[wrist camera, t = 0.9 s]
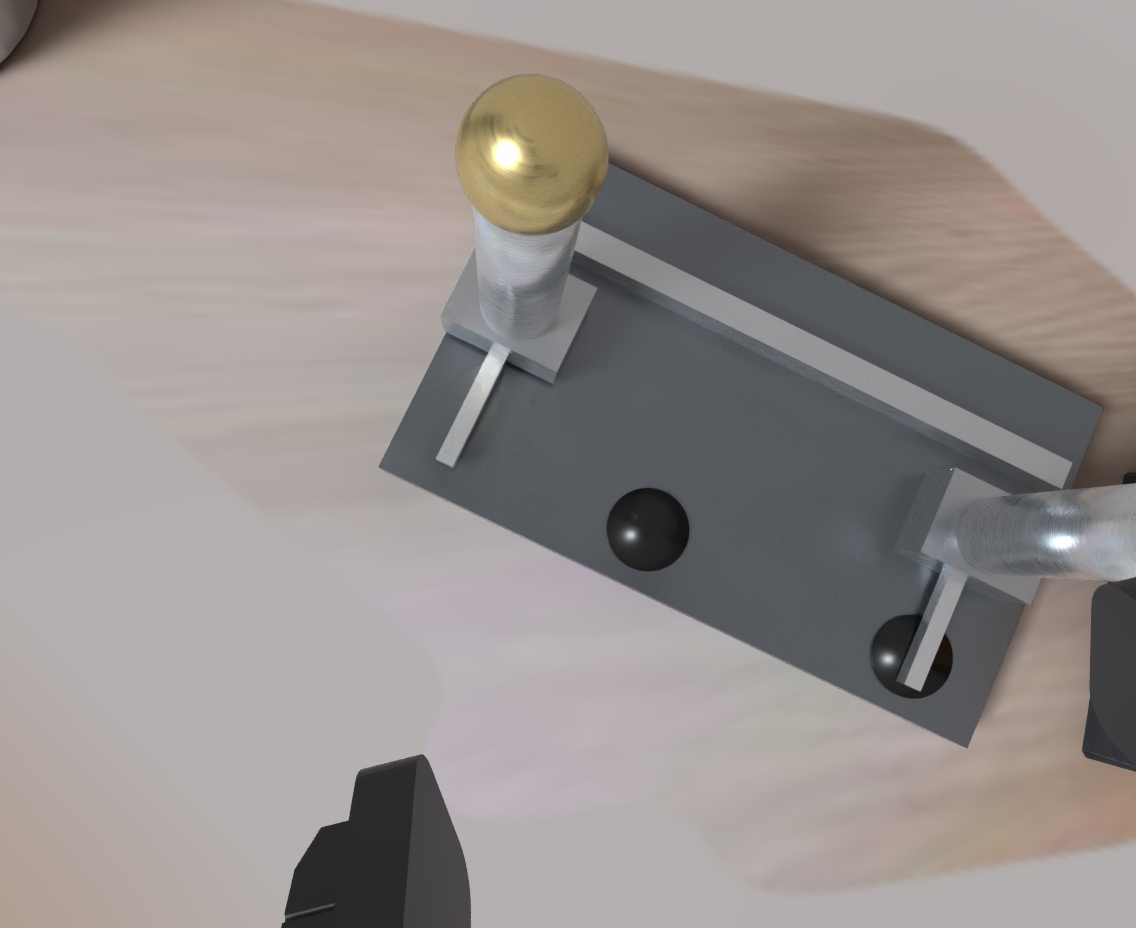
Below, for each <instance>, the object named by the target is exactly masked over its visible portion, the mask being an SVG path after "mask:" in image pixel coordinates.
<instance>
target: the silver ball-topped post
mask: <svg viewBox="0 0 1136 928" xmlns="http://www.w3.org/2000/svg"><path fill="white" fill-rule="evenodd" d="M893 551H894V552H896V553H898V554H900V555H902V556H904V557H906V558H908V559H911V560H913V561H915V562H917V563H919V564H921V565H923V566H925V567H927V568H929V569H931V570H933V571H935V572H937V573H939V574H940V576H939V579H938V581H937V583H936V586H935V588H934V591H933V593H932V595H931V598H930V600H929V603H928V605H927V608H926V610H925V612H924V615H923V617H922V620H921V622H920V624H919V627H918V629H917V632H916V634H915V636H914V639H913V641H912V644H911V646H910V649H909V651H908V653H907V656H906V658H905V661H904V663H903V665H902V668H901V670H900V673H899V675H898V678H897V680H896V681H897V682H899V683H901V684H903V685H906V686H908V687H910V688H912V689H915V690H917V691H920V692H921V689H922V687H923V684H924V682H925V680H926V677H927V675H928V672H929V670H930V667H931V665H932V662H933V660H934V658H935V655H936V653H937V650H938V648H939V645H940V643H941V640H942V638H943V636H944V633H945V631H946V628H947V626H948V623H949V621H950V619H951V616H952V614H953V611H954V609H955V606H956V604H957V601H958V599H959V597H960V594H961V592H962V589H963V587H964V586H966V587H968V588H970V589H972V590H975V591H977V592H979V593H981V594H983V595H985V596H987V597H989V598H991V599H993V600H995V601H1002V602H1011V603H1020V604H1029V605H1031V603H1032V601H1033V598H1034V596H1035V593H1036V591H1037V588H1038V586H1039V583H1040V581H1041V578H1055V579H1071V580H1087V581H1104V582H1117V581H1121V580H1125V579H1129V578H1133V577H1136V483H1133V484H1123V485H1113V486H1102V487H1092V488H1081V489H1071V490H1061V491H1050V492H1040V493H1029V494H1019V495H1011V494H1009V493H1007V492H1005V491H1003V490H1001V489H999V488H997V487H995V486H993V485H991V484H988V483H986V482H984V481H982V480H980V479H978V478H976V477H974V476H972V475H970V474H968V473H966V472H964V471H962V470H960V469H958V468H950V469H944V470H938V471H932V472H927V473H925V476H924V478H923V481H922V483H921V485H920V488H919V490H918V492H917V495H916V497H915V499H914V502H913V504H912V507H911V509H910V511H909V514H908V516H907V518H906V521H905V523H904V526H903V528H902V530H901V533H900V535H899V537H898V540H897V542H896V544H895V547H894V549H893Z"/></svg>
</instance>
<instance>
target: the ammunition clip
mask: <svg viewBox="0 0 1136 928" xmlns="http://www.w3.org/2000/svg"><path fill="white" fill-rule="evenodd" d="M1133 483H1136V473H1127V474H1125V475H1124V479H1123V484H1133ZM1109 583H1113V582H1108V584H1109ZM1082 751H1083V753H1084V755H1085V757H1086V758H1090V759H1093V760H1097V761H1100V762H1104V763H1107V764H1111V765H1114V766H1118V767H1121V768H1125V769H1128V770H1132V771H1135V772H1136V766H1135V765H1134V764H1133V763H1132V762H1131V760H1130V759H1129V758H1128V757H1127V756H1126V755H1125V754H1124V753H1123V752H1122V751H1121V750H1120V749H1119V748H1118V747H1117V746H1116V745H1115V744H1114V743H1113V742H1112V741H1111V739H1110V738H1109V737H1108V736H1107V734H1106V733H1105V731H1104V729H1103V728H1102V726H1101V724H1100V722H1099V720H1098V718H1097V716H1096V714H1095V711H1094V708H1093V705H1092V701H1091V697H1090V701H1089V708H1088V714H1087V721H1086V727H1085V734H1084V740H1083V747H1082Z"/></svg>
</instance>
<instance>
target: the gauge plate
mask: <svg viewBox="0 0 1136 928" xmlns="http://www.w3.org/2000/svg"><path fill="white" fill-rule="evenodd" d="M568 274H570V275H572V276H574V277H576V278H578V279H580V280H582V281H584V282H586V283H588V284H590V285H592V286H595V287H597V291H596V293H595V296H594V299H593V301H592V304H591V306H590V308H589V310H588V312H587V315H586V317H585V319H584V321H583V323H582V325H581V327H580V329H579V331H578V333H577V335H576V337H575V339H574V341H573V343H572V345H571V347H570V350H569V352H568V354H567V356H566V358H565V360H564V362H563V364H562V366H561V368H560V370H559V372H558V374H557V376H556V378H555V380H554V383H553V384H552V383H550V382H548V381H546V380H544V379H542V378H540V377H538V376H536V375H534V374H532V373H530V372H528V371H526V370H523V369H521V368H519V367H517V366H515V365H513V364H511V363H509V362H506V364H505V366H504V368H503V370H502V372H501V374H500V376H499V378H498V380H497V382H496V384H495V386H494V388H493V390H492V392H491V394H490V396H489V398H488V400H487V402H486V404H485V406H484V408H483V410H482V412H481V414H480V416H479V418H478V420H477V422H476V424H475V426H474V428H473V430H472V432H471V434H470V436H469V438H468V440H467V442H466V445H465V447H464V449H463V451H462V453H461V455H460V457H459V459H458V461H457V463H456V465H455V467H454V468H452V467H450V466H448V465H445V464H443V463H441V462H439V461H437V460H436V457H437V455H438V453H439V451H440V449H441V447H442V445H443V443H444V441H445V439H446V437H447V435H448V433H449V431H450V429H451V427H452V425H453V423H454V421H455V419H456V417H457V415H458V413H459V411H460V409H461V407H462V405H463V403H464V401H465V399H466V397H467V395H468V393H469V391H470V389H471V387H472V385H473V383H474V381H475V379H476V377H477V375H478V373H479V371H480V369H481V367H482V365H483V363H484V361H485V359H486V357H487V355H488V352H486V351H484V350H482V349H480V348H478V347H476V346H474V345H472V344H470V343H468V342H466V341H464V340H462V339H459V338H457V337H455V336H453V335H451V334H449V333H447V332H446V334H445V336H444V338H443V340H442V342H441V344H440V346H439V348H438V350H437V352H436V354H435V356H434V358H433V360H432V362H431V364H430V366H429V368H428V370H427V372H426V374H425V376H424V378H423V380H422V382H421V384H420V386H419V388H418V390H417V392H416V394H415V396H414V398H413V400H412V401H411V403H410V405H409V407H408V409H407V411H406V413H405V415H404V417H403V419H402V421H401V423H400V425H399V427H398V429H397V431H396V433H395V435H394V437H393V439H392V441H391V443H390V445H389V447H388V449H387V451H386V453H385V455H384V457H383V459H382V461H381V463H380V465H379V468H381V469H382V470H384V471H385V472H387V473H389V474H391V475H394V476H396V477H398V478H400V479H402V480H404V481H406V482H408V483H410V484H412V485H414V486H417V487H419V488H421V489H423V490H425V491H427V492H429V493H431V494H433V495H435V496H438V497H440V498H442V499H444V500H446V501H448V502H450V503H452V504H454V505H456V506H458V507H461V508H463V509H465V510H467V511H469V512H471V513H473V514H475V515H477V516H479V517H481V518H484V519H486V520H488V521H490V522H492V523H494V524H496V525H498V526H500V527H502V528H504V529H507V530H509V531H511V532H513V533H515V534H517V535H519V536H521V537H523V538H525V539H528V540H530V541H532V542H534V543H536V544H538V545H540V546H542V547H544V548H546V549H548V550H551V551H553V552H555V553H557V554H559V555H561V556H563V557H565V558H567V559H569V560H571V561H574V562H576V563H578V564H580V565H582V566H584V567H586V568H588V569H590V570H592V571H595V572H597V573H599V574H601V575H603V576H605V577H607V578H609V579H611V580H613V581H615V582H618V583H620V584H622V585H624V586H626V587H628V588H630V589H632V590H634V591H636V592H638V593H641V594H643V595H645V596H647V597H649V598H651V599H653V600H655V601H657V602H659V603H661V604H664V605H666V606H668V607H670V608H672V609H674V610H676V611H678V612H680V613H682V614H685V615H687V616H689V617H691V618H693V619H695V620H697V621H699V622H701V623H703V624H705V625H708V626H710V627H712V628H714V629H716V630H718V631H720V632H722V633H724V634H726V635H728V636H731V637H733V638H735V639H737V640H739V641H741V642H743V643H745V644H747V645H749V646H751V647H754V648H756V649H758V650H760V651H762V652H764V653H766V654H768V655H770V656H772V657H775V658H777V659H779V660H781V661H783V662H785V663H787V664H789V665H791V666H793V667H795V668H798V669H800V670H802V671H804V672H806V673H808V674H810V675H812V676H814V677H816V678H818V679H821V680H823V681H825V682H827V683H829V684H831V685H833V686H835V687H837V688H839V689H841V690H844V691H846V692H848V693H850V694H852V695H854V696H856V697H858V698H860V699H862V700H865V701H867V702H869V703H871V704H873V705H875V706H877V707H879V708H881V709H883V710H885V711H888V712H890V713H892V714H894V715H896V716H898V717H900V718H902V719H904V720H906V721H908V722H911V723H913V724H915V725H917V726H919V727H921V728H923V729H925V730H927V731H929V732H931V733H934V734H936V735H938V736H940V737H942V738H945V739H947V740H949V741H952V742H954V743H956V744H958V745H961V746H963V747H965V748H968V745H969V743H970V740H971V738H972V735H973V733H974V730H975V728H976V725H977V723H978V720H979V718H980V715H981V713H982V710H983V708H984V705H985V703H986V700H987V698H988V695H989V693H990V690H991V688H992V685H993V683H994V680H995V678H996V675H997V673H998V670H999V668H1000V665H1001V663H1002V660H1003V658H1004V655H1005V653H1006V650H1007V648H1008V645H1009V643H1010V640H1011V638H1012V635H1013V633H1014V630H1015V628H1016V625H1017V623H1018V620H1019V618H1020V615H1021V613H1022V610H1023V608H1024V605H1025V604H1020V603H1011V602H1002V601H995V600H993V599H991V598H989V597H987V596H985V595H983V594H981V593H979V592H977V591H975V590H972V589H970V588H968V587H966V586H964V587H963V589H962V592H961V594H960V597H959V599H958V601H957V604H956V606H955V609H954V611H953V614H952V616H951V619H950V621H949V623H948V626H947V628H946V631H945V633H944V636H943V638H942V640H941V643H940V645H939V648H938V650H937V653H936V655H935V658H934V660H933V662H932V665H931V667H930V670H929V672H928V675H927V677H926V680H925V682H924V684H923V687H922V689H921V692H920V691H917V690H915V689H912V688H910V687H908V686H906V685H903V684H901V683H899V682H897V681H896V680H897V678H898V675H899V673H900V670H901V668H902V665H903V663H904V661H905V658H906V656H907V653H908V651H909V649H910V646H911V644H912V641H913V639H914V636H915V634H916V632H917V629H918V627H919V624H920V622H921V620H922V617H923V615H924V612H925V610H926V608H927V605H928V603H929V600H930V598H931V595H932V593H933V591H934V588H935V586H936V583H937V581H938V579H939V576H940V574H939V573H937V572H935V571H933V570H931V569H929V568H927V567H925V566H923V565H921V564H919V563H917V562H915V561H913V560H911V559H908V558H906V557H904V556H902V555H900V554H898V553H896V552H894V551H893V549H894V547H895V544H896V542H897V540H898V537H899V535H900V533H901V530H902V528H903V526H904V523H905V521H906V518H907V516H908V514H909V511H910V509H911V507H912V504H913V502H914V499H915V497H916V495H917V492H918V490H919V488H920V485H921V483H922V481H923V478H924V476H925V473H927V472H932V471H938V470H944V469H950V468H958V469H960V470H962V471H964V472H966V473H968V474H970V475H972V476H974V477H976V478H978V479H980V480H982V481H984V482H986V483H988V484H991V485H993V486H995V487H997V488H999V489H1001V490H1003V491H1005V492H1007V493H1009V494H1011V495H1019V494H1029V493H1040V492H1050V491H1061V490H1071V488H1072V485H1073V483H1074V480H1075V478H1076V475H1077V473H1078V470H1079V468H1080V465H1081V463H1082V460H1083V458H1084V455H1085V453H1086V450H1087V448H1088V445H1089V443H1090V440H1091V438H1092V435H1093V433H1094V430H1095V428H1096V425H1097V423H1098V420H1099V418H1100V415H1101V413H1102V410H1103V407H1101V406H1099V405H1097V404H1095V403H1093V402H1091V401H1089V400H1087V399H1085V398H1083V397H1081V396H1079V395H1077V394H1075V393H1073V392H1071V391H1069V390H1067V389H1065V388H1063V387H1061V386H1059V385H1057V384H1055V383H1053V382H1051V381H1049V380H1047V379H1045V378H1043V377H1041V376H1039V375H1037V374H1035V373H1033V372H1031V371H1029V370H1027V369H1025V368H1023V367H1021V366H1019V365H1017V364H1014V363H1012V362H1010V361H1008V360H1006V359H1004V358H1002V357H1000V356H998V355H996V354H994V353H992V352H990V351H988V350H986V349H984V348H982V347H980V346H978V345H976V344H974V343H972V342H970V341H968V340H966V339H964V338H962V337H960V336H958V335H956V334H954V333H952V332H950V331H948V330H946V329H944V328H942V327H940V326H938V325H936V324H934V323H932V322H930V321H928V320H925V319H923V318H921V317H919V316H917V315H915V314H913V313H911V312H909V311H907V310H905V309H903V308H901V307H899V306H897V305H895V304H893V303H891V302H889V301H887V300H885V299H883V298H881V297H879V296H877V295H875V294H873V293H871V292H869V291H867V290H865V289H863V288H861V287H859V286H857V285H855V284H853V283H851V282H849V281H847V280H845V279H843V278H841V277H839V276H837V275H834V274H832V273H830V272H828V271H826V270H824V269H822V268H820V267H818V266H816V265H814V264H812V263H810V262H808V261H806V260H804V259H802V258H800V257H798V256H796V255H794V254H792V253H790V252H788V251H786V250H784V249H782V248H780V247H778V246H776V245H774V244H772V243H770V242H768V241H766V240H764V239H762V238H760V237H758V236H756V235H754V234H752V233H750V232H748V231H745V230H743V229H741V228H739V227H737V226H735V225H733V224H731V223H729V222H727V221H725V220H723V219H721V218H719V217H717V216H715V215H713V214H711V213H709V212H707V211H705V210H703V209H701V208H699V207H697V206H695V205H693V204H691V203H689V202H687V201H685V200H683V199H681V198H679V197H677V196H675V195H673V194H671V193H669V192H667V191H665V190H663V189H661V188H659V187H656V186H654V185H652V184H650V183H648V182H646V181H644V180H642V179H640V178H638V177H636V176H634V175H632V174H630V173H628V172H626V171H624V170H622V169H620V168H618V167H616V166H614V165H612V164H610V163H608V168H607V175H606V178H605V182H604V185H603V187H602V190H601V192H600V194H599V196H598V198H597V200H596V201H595V203H594V204H593V206H592V207H591V208H590V209H589V211H588V212H587V213H586V214H585V215H584V216H583V217H582V221H581V225H580V229H579V233H578V237H577V241H576V245H575V249H574V253H573V257H572V261H571V265H570V268H569V272H568Z"/></svg>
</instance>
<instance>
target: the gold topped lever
mask: <svg viewBox="0 0 1136 928" xmlns="http://www.w3.org/2000/svg"><path fill="white" fill-rule="evenodd" d="M608 160H609V159H608V145H607V138H606V134H605V130H604V127H603V125H602V122H601V120H600V118H599V116H598V114H597V113H596V111H595V109H594V108H593V106H592V105H591V104H590V102H589V101H588V100H587V99H586V98H585V97H584V96H583V95H582V94H581V93H580V92H578V91H577V90H576V89H575V88H573V87H572V86H570V85H569V84H567V83H565V82H563V81H561V80H559V79H556V78H554V77H550V76H547V75H540V74H521V75H516V76H511V77H509V78H506V79H503V80H501V81H499V82H497V83H495V84H493V85H491V86H490V87H489V88H487V89H486V90H484V91H483V92H482V93H481V94H480V95H479V96H478V97H477V98H476V100H475V101H474V102H473V103H472V104H471V106H470V107H469V109H468V110H467V112H466V113H465V115H464V118H463V120H462V122H461V125H460V127H459V131H458V135H457V139H456V148H455V161H456V169H457V173H458V177H459V180H460V184H461V186H462V188H463V191H464V193H465V195H466V196H467V198H468V200H469V201H470V203H471V204H472V213H473V225H474V238H475V249H474V251H473V253H472V255H471V257H470V259H469V261H468V263H467V265H466V267H465V269H464V271H463V273H462V275H461V277H460V279H459V281H458V283H457V285H456V287H455V289H454V290H453V292H452V294H451V296H450V298H449V300H448V302H447V304H446V306H445V308H444V310H443V312H442V314H441V319H442V323H443V327H444V330H445V332H447V333H449V334H451V335H453V336H455V337H457V338H459V339H462V340H464V341H466V342H468V343H470V344H472V345H474V346H476V347H478V348H480V349H482V350H484V351H486V352H488V355H487V357H486V359H485V361H484V363H483V365H482V367H481V369H480V371H479V373H478V375H477V377H476V379H475V381H474V383H473V385H472V387H471V389H470V391H469V393H468V395H467V397H466V399H465V401H464V403H463V405H462V407H461V409H460V411H459V413H458V415H457V417H456V419H455V421H454V423H453V425H452V427H451V429H450V431H449V433H448V435H447V437H446V439H445V441H444V443H443V445H442V447H441V449H440V451H439V453H438V455H437V457H436V460H437V461H439V462H441V463H443V464H445V465H448V466H450V467H452V468H454V467H455V465H456V463H457V461H458V459H459V457H460V455H461V453H462V451H463V449H464V447H465V445H466V442H467V440H468V438H469V436H470V434H471V432H472V430H473V428H474V426H475V424H476V422H477V420H478V418H479V416H480V414H481V412H482V410H483V408H484V406H485V404H486V402H487V400H488V398H489V396H490V394H491V392H492V390H493V388H494V386H495V384H496V382H497V380H498V378H499V376H500V374H501V372H502V370H503V368H504V366H505V364H506V362H509V363H511V364H513V365H515V366H517V367H519V368H521V369H523V370H526V371H528V372H530V373H532V374H534V375H536V376H538V377H540V378H542V379H544V380H546V381H548V382H550V383H552V384H553V383H554V380H555V378H556V376H557V374H558V372H559V370H560V368H561V366H562V364H563V362H564V360H565V358H566V356H567V354H568V352H569V350H570V347H571V345H572V343H573V341H574V339H575V337H576V335H577V333H578V331H579V329H580V327H581V325H582V323H583V321H584V319H585V317H586V315H587V312H588V310H589V308H590V306H591V304H592V301H593V299H594V296H595V293H596V291H597V287H595V286H592V285H590V284H588V283H586V282H584V281H582V280H580V279H578V278H576V277H574V276H572V275H570V274H568V272H569V268H570V265H571V261H572V257H573V253H574V249H575V245H576V241H577V237H578V233H579V229H580V225H581V221H582V217H583V216H584V215H585V214H586V213H587V212H588V211H589V209H590V208H591V207H592V206H593V204H594V203H595V201H596V200H597V198H598V196H599V194H600V192H601V190H602V187H603V185H604V182H605V178H606V175H607V168H608Z"/></svg>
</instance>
